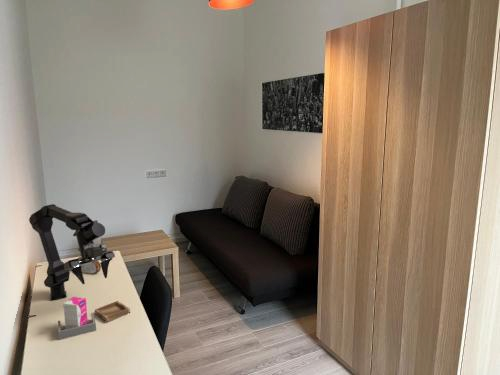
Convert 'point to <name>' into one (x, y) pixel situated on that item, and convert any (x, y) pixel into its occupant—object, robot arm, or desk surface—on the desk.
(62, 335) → the stall
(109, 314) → the tray
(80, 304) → the supplement box
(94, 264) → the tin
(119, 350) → the desk surface
